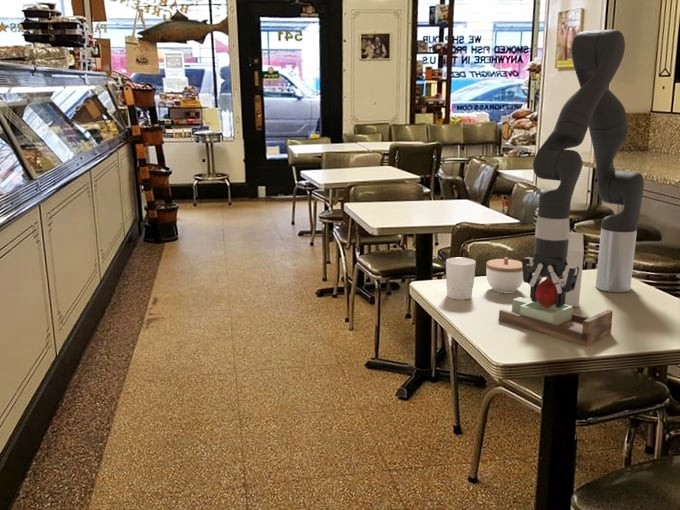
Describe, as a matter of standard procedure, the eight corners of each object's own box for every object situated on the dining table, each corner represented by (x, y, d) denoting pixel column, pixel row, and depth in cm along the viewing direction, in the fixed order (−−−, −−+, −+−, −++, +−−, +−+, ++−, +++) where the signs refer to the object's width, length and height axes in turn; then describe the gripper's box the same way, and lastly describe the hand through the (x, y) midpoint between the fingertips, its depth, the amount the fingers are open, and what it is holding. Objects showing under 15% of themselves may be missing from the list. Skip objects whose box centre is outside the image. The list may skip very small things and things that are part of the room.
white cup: (441, 298, 183) (443, 263, 181) (448, 290, 190) (449, 256, 188) (470, 302, 180) (472, 265, 178) (476, 294, 188) (478, 259, 185)
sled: (525, 306, 172) (525, 294, 171) (571, 319, 163) (572, 306, 162) (505, 314, 166) (505, 301, 165) (552, 327, 157) (553, 314, 156)
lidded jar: (480, 285, 196) (482, 253, 194) (516, 284, 197) (518, 252, 194) (491, 296, 186) (493, 263, 183) (529, 295, 186) (531, 262, 184)
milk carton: (578, 307, 176) (585, 236, 172) (550, 305, 178) (556, 234, 173) (575, 299, 183) (581, 230, 178) (547, 297, 184) (553, 229, 180)
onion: (555, 313, 159) (558, 281, 157) (531, 309, 162) (533, 277, 160) (562, 307, 163) (564, 275, 161) (538, 303, 166) (540, 271, 164)
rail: (524, 310, 174) (525, 289, 173) (610, 333, 158) (613, 310, 156) (498, 320, 166) (499, 298, 165) (586, 346, 150) (588, 322, 149)
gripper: (589, 238, 156) (582, 307, 160) (533, 228, 166) (529, 294, 170) (572, 243, 151) (566, 315, 155) (516, 232, 161) (512, 300, 165)
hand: (546, 303), depth 162 cm, fingers closed on onion, 5 cm apart
